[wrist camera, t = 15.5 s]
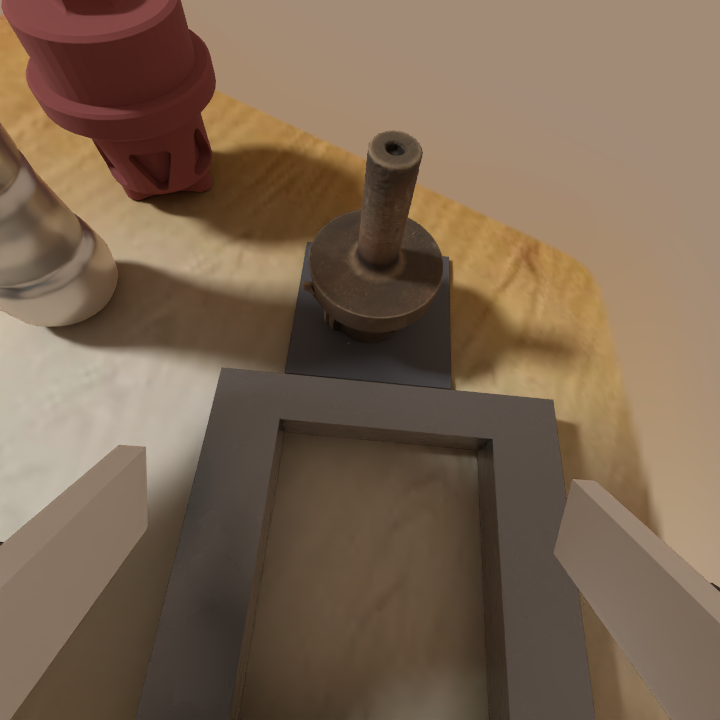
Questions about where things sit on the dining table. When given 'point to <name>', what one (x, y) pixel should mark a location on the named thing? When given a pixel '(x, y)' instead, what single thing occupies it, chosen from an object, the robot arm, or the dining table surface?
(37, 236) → the plastic bottle
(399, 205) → the industrial component
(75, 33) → the mechanical component
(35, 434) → the dining table surface
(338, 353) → the rubber mat
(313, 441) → the dining table surface
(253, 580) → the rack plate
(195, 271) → the dining table surface
